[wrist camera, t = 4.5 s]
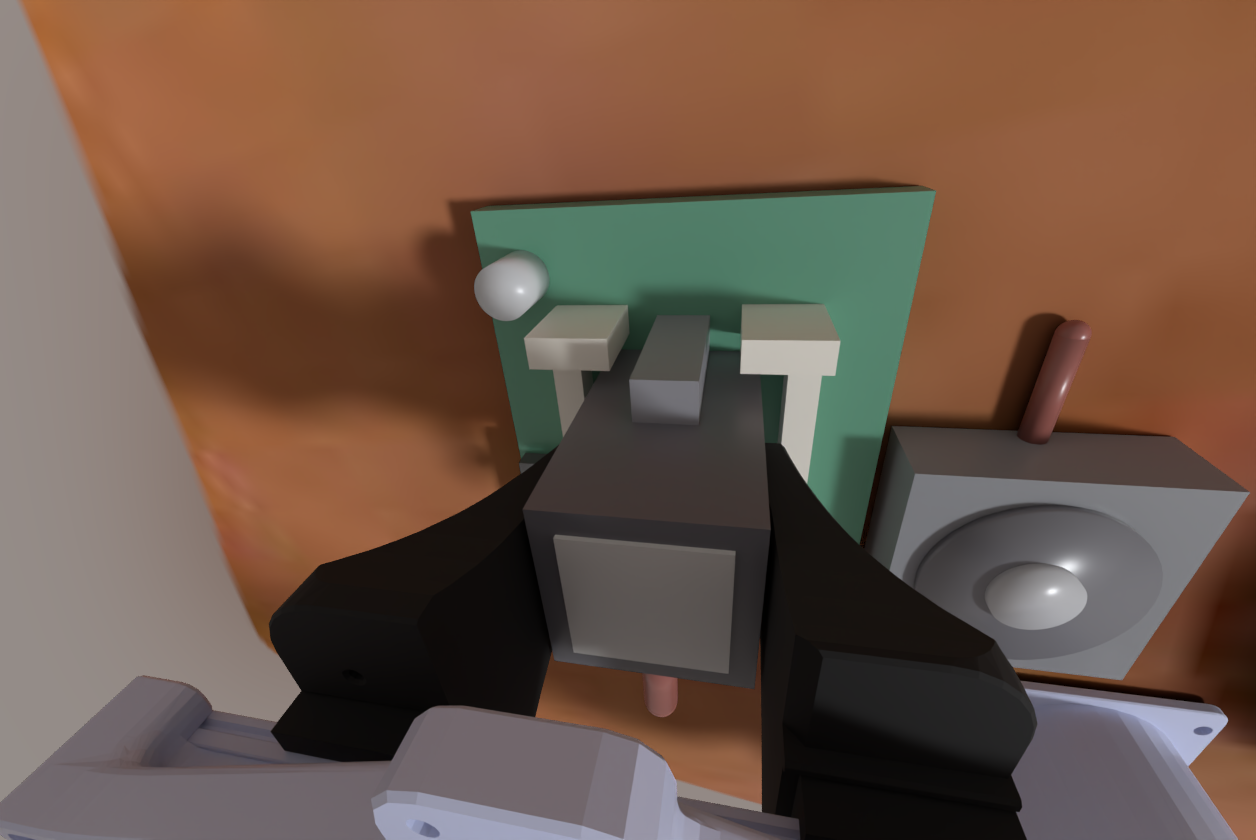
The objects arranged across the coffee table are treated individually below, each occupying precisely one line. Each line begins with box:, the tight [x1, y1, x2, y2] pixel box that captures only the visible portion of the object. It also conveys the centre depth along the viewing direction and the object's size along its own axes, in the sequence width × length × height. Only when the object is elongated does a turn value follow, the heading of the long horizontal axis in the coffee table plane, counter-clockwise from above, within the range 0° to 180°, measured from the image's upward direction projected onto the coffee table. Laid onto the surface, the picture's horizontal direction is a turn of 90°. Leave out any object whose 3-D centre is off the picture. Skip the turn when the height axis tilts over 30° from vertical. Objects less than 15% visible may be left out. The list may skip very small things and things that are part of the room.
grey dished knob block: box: [864, 320, 1250, 680], centre depth 14 cm, size 10×7×3 cm
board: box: [471, 186, 936, 544], centre depth 14 cm, size 12×11×4 cm
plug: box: [523, 315, 771, 717], centre depth 12 cm, size 8×4×7 cm, turn 4°
